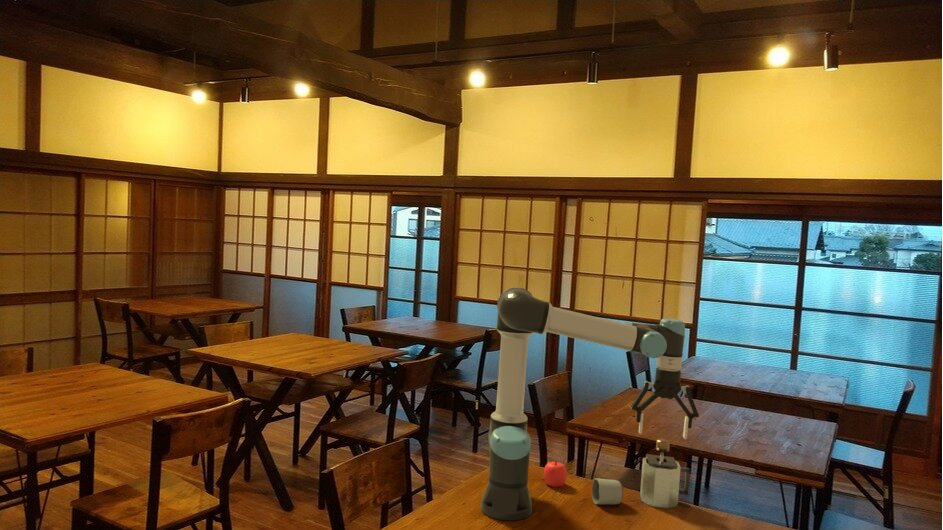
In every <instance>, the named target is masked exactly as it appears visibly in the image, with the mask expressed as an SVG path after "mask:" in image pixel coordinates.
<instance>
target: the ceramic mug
mask: <svg viewBox="0 0 943 530" xmlns="http://www.w3.org/2000/svg"><path fill="white" fill-rule="evenodd" d="M591 499H592V501H593V503H594V504H595V505H599V506H601V505H604V506H605V505H608V506H609V505H620V504H621V503H622V502H623V500H624V486H623V484H622V483H621V481H619V480H617V479H608V478H607V479H606V478H598V477H597V478H594V479H593V481H592V484H591Z"/></svg>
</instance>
